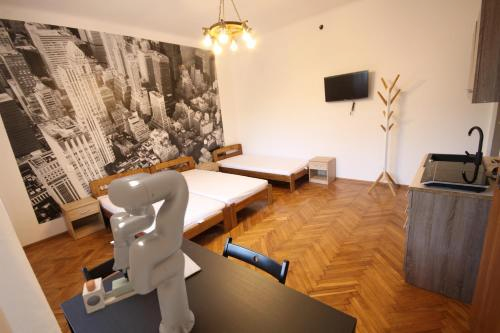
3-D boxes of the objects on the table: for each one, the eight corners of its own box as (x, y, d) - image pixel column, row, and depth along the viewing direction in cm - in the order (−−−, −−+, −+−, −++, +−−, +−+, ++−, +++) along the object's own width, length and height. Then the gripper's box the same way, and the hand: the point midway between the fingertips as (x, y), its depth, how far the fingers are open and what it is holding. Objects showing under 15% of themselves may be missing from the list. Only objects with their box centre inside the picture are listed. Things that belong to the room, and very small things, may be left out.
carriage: (140, 288, 102) (136, 268, 100) (114, 298, 98) (109, 277, 95) (138, 280, 107) (134, 261, 105) (114, 289, 103) (109, 269, 100)
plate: (149, 272, 115) (149, 268, 115) (184, 255, 127) (183, 252, 127) (164, 292, 102) (164, 289, 101) (201, 271, 114) (201, 268, 113)
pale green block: (150, 288, 104) (148, 277, 103) (104, 306, 96) (101, 294, 94) (148, 278, 110) (146, 268, 109) (105, 295, 102) (102, 283, 100)
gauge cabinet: (104, 307, 95) (100, 289, 93) (87, 314, 92) (82, 295, 90) (105, 294, 102) (101, 277, 100) (89, 300, 99) (84, 282, 97)
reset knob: (95, 289, 93) (94, 283, 92) (86, 292, 91) (85, 286, 90) (96, 284, 95) (94, 278, 94) (87, 287, 94) (85, 281, 93)
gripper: (102, 251, 91) (111, 290, 96) (146, 238, 99) (153, 274, 103) (103, 242, 97) (111, 279, 102) (144, 231, 105) (151, 265, 110)
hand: (132, 276), depth 103 cm, fingers closed on carriage, 3 cm apart
